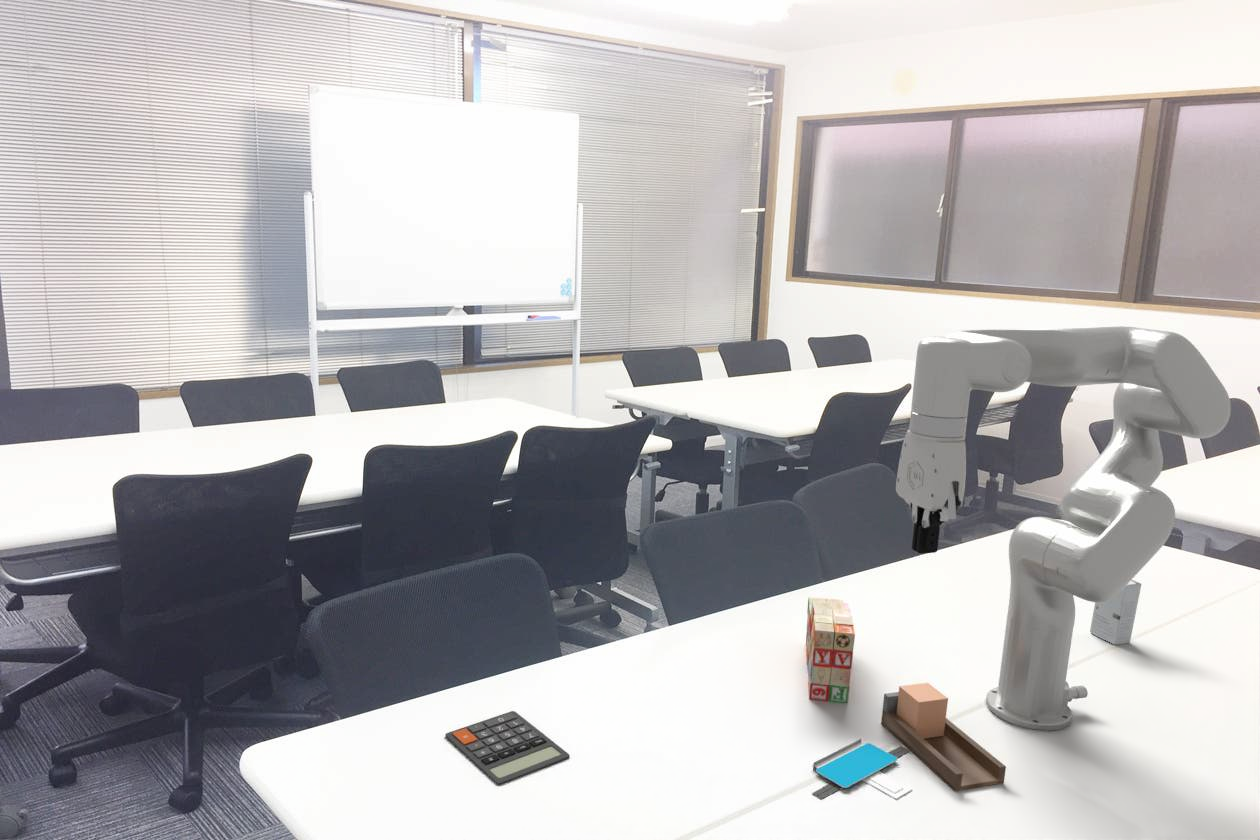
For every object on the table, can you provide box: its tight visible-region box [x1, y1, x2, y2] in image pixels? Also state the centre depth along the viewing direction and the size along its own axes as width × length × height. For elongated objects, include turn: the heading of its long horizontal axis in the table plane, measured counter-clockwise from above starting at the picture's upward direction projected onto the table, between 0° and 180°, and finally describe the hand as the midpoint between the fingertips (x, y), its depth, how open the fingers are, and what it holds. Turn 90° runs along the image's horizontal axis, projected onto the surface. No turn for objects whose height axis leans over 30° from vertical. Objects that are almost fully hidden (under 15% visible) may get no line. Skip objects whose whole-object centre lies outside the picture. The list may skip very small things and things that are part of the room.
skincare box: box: [1089, 579, 1142, 645], centre depth 176 cm, size 6×4×12 cm
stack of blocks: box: [805, 596, 856, 704], centre depth 158 cm, size 21×6×12 cm, turn 171°
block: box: [896, 682, 949, 739], centre depth 139 cm, size 5×5×6 cm
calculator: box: [444, 710, 570, 786], centre depth 132 cm, size 12×1×15 cm
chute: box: [880, 691, 1007, 792], centre depth 135 cm, size 8×18×5 cm, turn 17°
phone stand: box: [811, 738, 913, 800], centre depth 129 cm, size 20×12×2 cm, turn 129°
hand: (924, 550), depth 133 cm, fingers closed
